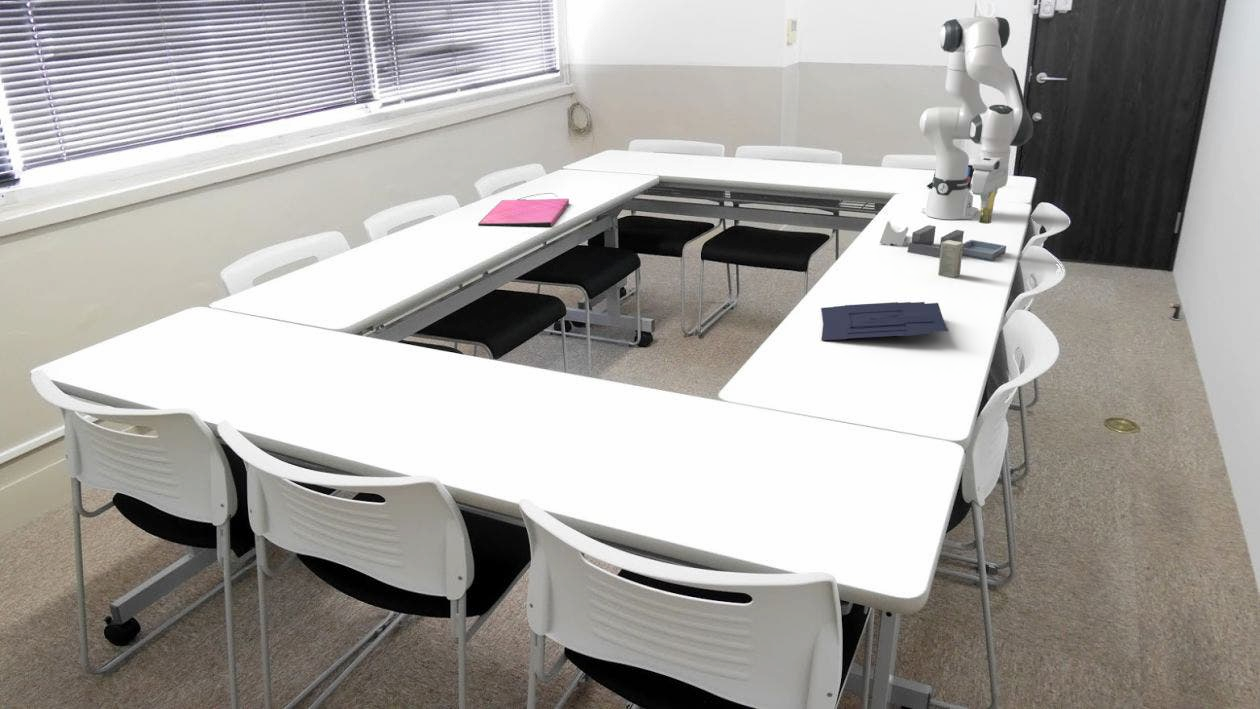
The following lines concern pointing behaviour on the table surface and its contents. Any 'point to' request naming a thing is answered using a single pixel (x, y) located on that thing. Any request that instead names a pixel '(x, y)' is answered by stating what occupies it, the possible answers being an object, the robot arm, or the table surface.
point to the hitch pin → (987, 209)
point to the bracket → (893, 234)
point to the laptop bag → (525, 213)
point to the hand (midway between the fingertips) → (987, 204)
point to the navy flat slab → (881, 320)
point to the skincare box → (950, 258)
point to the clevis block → (930, 241)
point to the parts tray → (982, 250)
